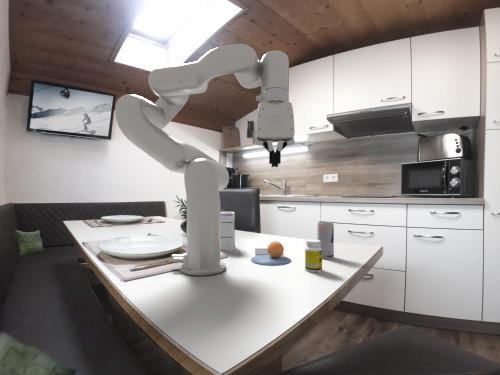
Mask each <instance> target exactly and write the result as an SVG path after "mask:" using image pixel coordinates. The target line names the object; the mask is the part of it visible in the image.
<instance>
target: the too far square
mask: <svg viewBox="0 0 500 375" xmlns="http://www.w3.org/2000/svg"><path fill="white" fill-rule="evenodd" d="M267 248H268V247H267ZM267 248H258V247H257V248H254V253H255V254H254V256H259V255H269V254H268V250H267ZM281 256H284V253H283V254H282V255H281Z"/></svg>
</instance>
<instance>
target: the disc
mask: <svg viewBox="0 0 500 375" xmlns="http://www.w3.org/2000/svg"><path fill="white" fill-rule="evenodd" d="M250 261H251V262H252V263H254V264H255V265H261V266H273V267H274V266H283V265H287V264H290V263H291V262H292V259H291V258H290V257H287V256H284V255H281V256H280V257H278V258H273V257H271V256H270V255H254V256H252V257H251V258H250Z"/></svg>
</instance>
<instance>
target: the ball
mask: <svg viewBox="0 0 500 375" xmlns="http://www.w3.org/2000/svg"><path fill="white" fill-rule="evenodd" d="M267 250H268V254H269V255H270V256H271V257H273V258H278V257H280V256H283V255H282V254H284V251H285V249H284V245H283V244H282V243H281V242H279V241H277V240H276V241H271V242H270V243H269V244H268V245H267Z"/></svg>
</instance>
